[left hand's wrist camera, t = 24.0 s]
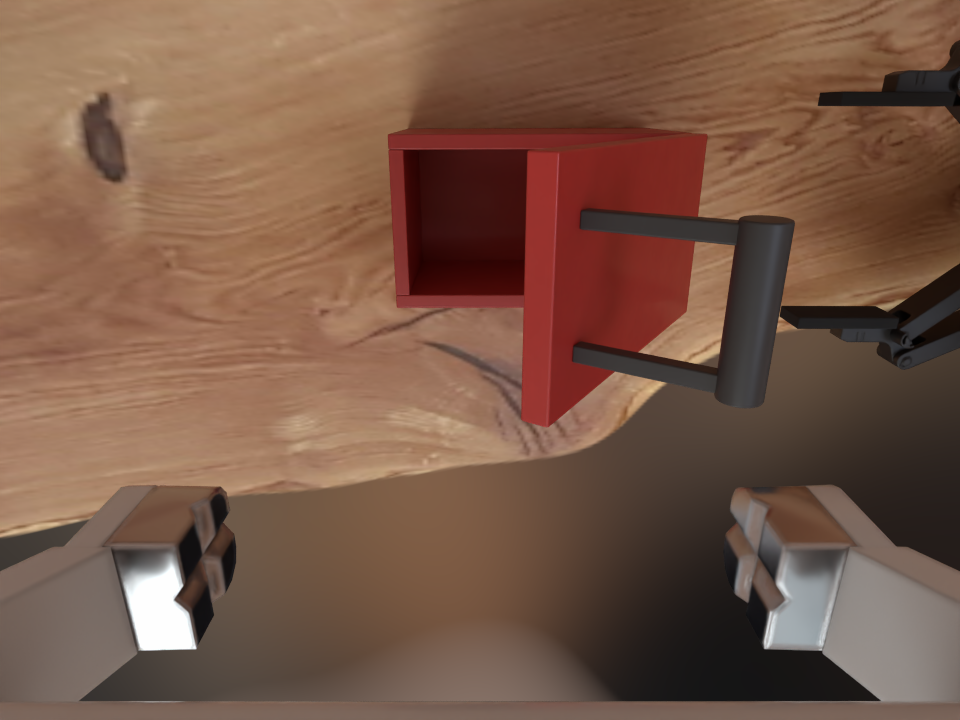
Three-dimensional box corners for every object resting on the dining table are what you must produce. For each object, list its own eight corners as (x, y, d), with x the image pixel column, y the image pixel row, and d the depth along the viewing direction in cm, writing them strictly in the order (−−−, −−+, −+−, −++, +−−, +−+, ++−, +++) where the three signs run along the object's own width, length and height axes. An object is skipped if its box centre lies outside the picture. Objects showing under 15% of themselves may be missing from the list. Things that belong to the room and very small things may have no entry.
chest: (413, 268, 48) (396, 308, 39) (407, 128, 45) (387, 133, 35) (635, 268, 48) (673, 307, 39) (647, 128, 45) (693, 133, 35)
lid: (520, 421, 25) (740, 482, 21) (526, 150, 21) (794, 159, 17) (666, 309, 38) (816, 332, 34) (685, 133, 35) (855, 136, 31)
